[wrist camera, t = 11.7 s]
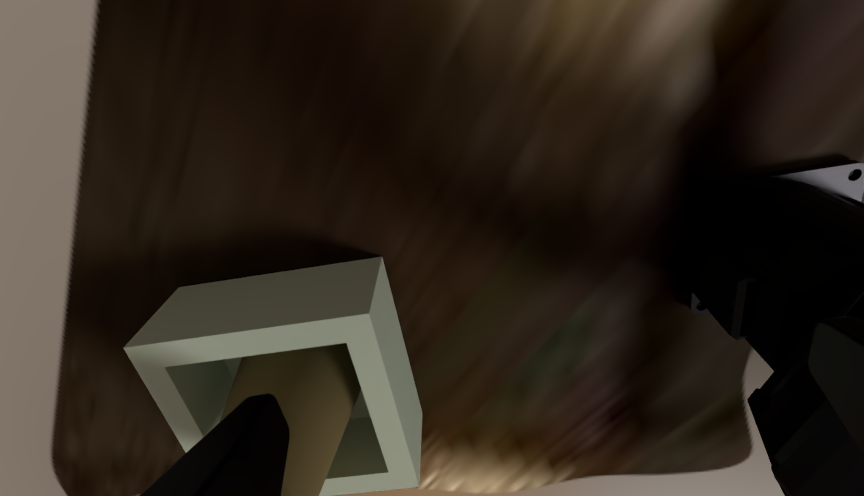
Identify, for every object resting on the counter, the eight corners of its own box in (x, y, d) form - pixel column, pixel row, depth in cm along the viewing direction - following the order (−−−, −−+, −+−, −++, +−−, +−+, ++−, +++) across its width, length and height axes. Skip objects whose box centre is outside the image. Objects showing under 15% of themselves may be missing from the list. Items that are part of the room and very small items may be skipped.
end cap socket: (382, 256, 22) (369, 313, 18) (422, 413, 26) (419, 486, 22) (178, 287, 23) (123, 347, 19) (251, 433, 27) (218, 507, 23)
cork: (230, 390, 24) (91, 649, 15) (260, 301, 22) (115, 543, 12) (342, 426, 25) (280, 690, 16) (383, 345, 23) (340, 600, 13)
